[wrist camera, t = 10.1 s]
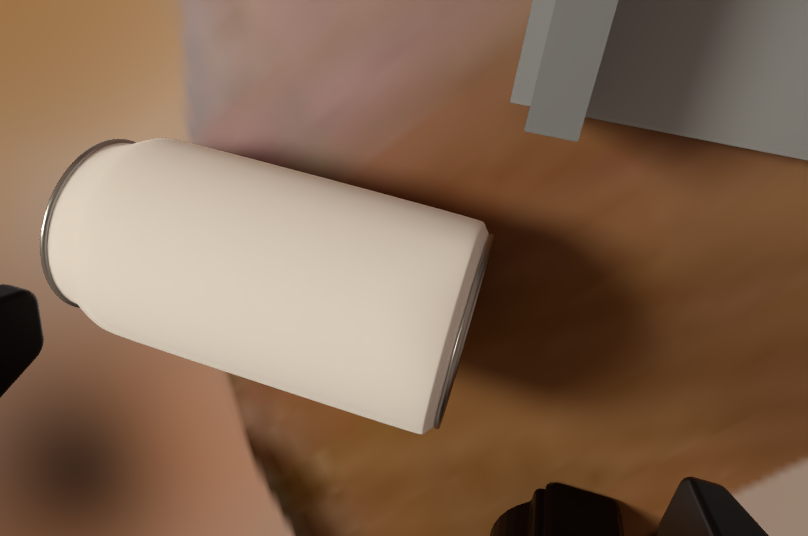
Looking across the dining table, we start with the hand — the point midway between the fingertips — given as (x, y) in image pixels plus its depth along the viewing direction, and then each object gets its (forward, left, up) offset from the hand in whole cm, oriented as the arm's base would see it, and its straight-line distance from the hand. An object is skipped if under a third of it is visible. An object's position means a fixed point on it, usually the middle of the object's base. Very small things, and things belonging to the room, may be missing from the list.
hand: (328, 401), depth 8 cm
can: (-4, -2, -9) cm, 10 cm away
